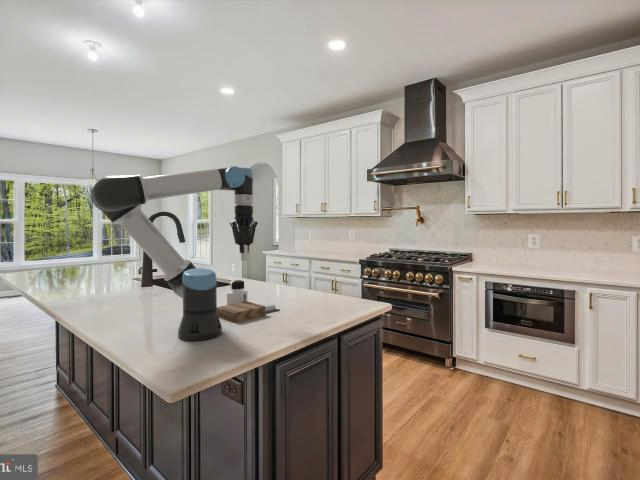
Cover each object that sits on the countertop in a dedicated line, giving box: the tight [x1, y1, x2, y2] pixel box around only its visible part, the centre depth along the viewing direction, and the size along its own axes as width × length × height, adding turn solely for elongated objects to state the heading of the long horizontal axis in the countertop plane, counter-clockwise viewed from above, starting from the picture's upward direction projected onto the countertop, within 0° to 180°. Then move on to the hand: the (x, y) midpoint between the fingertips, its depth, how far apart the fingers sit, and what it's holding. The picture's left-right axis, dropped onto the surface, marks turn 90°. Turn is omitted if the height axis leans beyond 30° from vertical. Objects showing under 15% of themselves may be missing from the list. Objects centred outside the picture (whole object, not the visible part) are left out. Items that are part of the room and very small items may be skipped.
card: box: [259, 302, 276, 311], centre depth 166 cm, size 9×6×2 cm, turn 137°
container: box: [226, 279, 249, 305], centre depth 171 cm, size 8×8×13 cm
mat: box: [266, 307, 281, 314], centre depth 166 cm, size 10×10×1 cm
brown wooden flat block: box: [217, 301, 266, 324], centre depth 157 cm, size 16×14×4 cm
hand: (244, 260), depth 154 cm, fingers closed
